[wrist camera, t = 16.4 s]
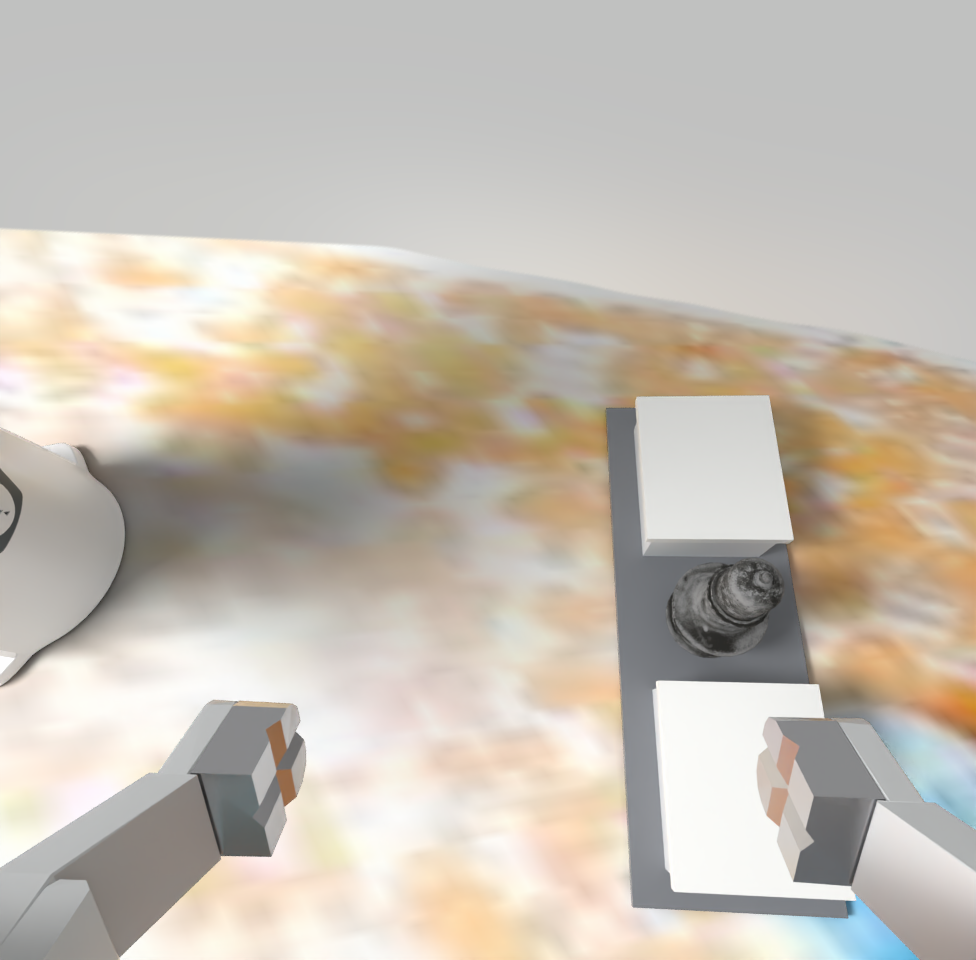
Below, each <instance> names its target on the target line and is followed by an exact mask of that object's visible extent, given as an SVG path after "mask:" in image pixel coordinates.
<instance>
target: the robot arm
mask: <svg viewBox="0 0 976 960" xmlns="http://www.w3.org/2000/svg"><path fill="white" fill-rule="evenodd" d="M124 543H125V526H124V519H123V515H122V512H121V509H120V506H119V504H118V502H117V501H116V499H115V497H114V496H113V494H112V493H111V492H110V491H109V490H108V489H107V488H106V487H105V486H104V485H103V484H101V483H100V482H99V481H98V480H96V479H95V478H94V477H93V476H92V475H91V474H90V473H89V471H88V468H87V466H86V463H85V460H84V458H83V456H82V454H81V452H80V451H79V450H78V449H77V448H75V447H73V446H71V445H69V444H66V443H58V444H52V445H47V446H39V445H37V444H35V443H33V442H31V441H29V440H27V439H25V438H22V437H20V436H18V435H16V434H14V433H12V432H10V431H8V430H5V429H3V428H1V427H0V686H1V685H2V684H4V683H5V682H7V681H8V680H9V679H10V678H11V677H12V676H13V675H14V674H15V673H16V672H17V671H18V670H19V669H20V668H21V667H22V666H23V665H24V664H25V663H26V662H27V660H28V659H29V658H30V657H31V656H32V655H33V654H34V653H36V652H37V651H38V650H40V649H41V648H43V647H45V646H46V645H48V644H50V643H52V642H53V641H55V640H57V639H58V638H60V637H62V636H63V635H65V634H66V633H68V632H69V631H70V630H72V629H73V628H74V627H76V626H77V625H78V624H79V623H80V622H81V621H82V620H84V619H85V618H86V617H87V616H88V615H89V614H90V613H91V611H92V610H93V609H94V608H95V607H96V606H97V605H98V603H99V602H100V601H101V599H102V598H103V596H104V595H105V593H106V592H107V590H108V589H109V587H110V585H111V583H112V581H113V580H114V578H115V575H116V573H117V571H118V568H119V565H120V562H121V559H122V555H123V550H124ZM299 723H300V716H299V712H298V708H297V706H296V705H294V704H290V703H271V702H253V701H223V700H212V701H211V702H209V703H207V704H206V705H205V706H204V707H203V709H202V710H201V711H200V713H199V714H198V716H197V717H196V719H195V720H194V722H193V723H192V724H191V726H190V727H189V729H188V730H187V732H186V733H185V734H184V736H183V737H182V739H181V740H180V742H179V743H178V744H177V746H176V747H175V749H174V750H173V752H172V753H171V754H170V756H169V757H168V759H167V760H166V762H165V763H164V764H163V766H162V767H161V769H160V770H159V772H158V773H148V774H147V775H145V776H143V777H142V778H140V779H139V780H137V781H136V782H134V783H133V784H131V785H129V786H128V787H126V788H125V789H123V790H122V791H120V792H118V793H117V794H115V795H114V796H112V797H111V798H109V799H107V800H106V801H104V802H103V803H101V804H100V805H98V806H96V807H95V808H93V809H92V810H90V811H89V812H87V813H85V814H84V815H82V816H81V817H79V818H78V819H76V820H75V821H73V822H71V823H70V824H68V825H67V826H65V827H64V828H62V829H60V830H59V831H57V832H56V833H54V834H53V835H51V836H49V837H48V838H46V839H45V840H43V841H42V842H40V843H38V844H37V845H35V846H34V847H32V848H31V849H29V850H27V851H26V852H24V853H23V854H21V855H20V856H18V857H17V858H15V859H13V860H12V861H10V862H9V863H7V864H6V865H4V866H2V867H1V868H0V960H120V958H119V957H120V956H122V955H123V954H124V953H125V952H126V951H127V950H128V949H129V948H130V947H131V946H132V945H133V944H134V943H135V942H136V941H137V940H138V939H139V938H140V937H141V936H142V935H143V934H144V933H145V932H146V931H147V930H148V929H149V928H150V927H151V926H152V925H154V924H155V923H156V922H157V921H158V920H159V919H160V918H161V917H162V916H163V915H164V914H165V913H166V912H167V911H168V910H169V909H170V908H171V907H172V906H173V905H174V904H175V903H176V902H177V901H178V900H179V899H180V898H181V897H182V896H183V895H184V894H186V893H187V892H188V891H189V890H190V889H191V888H192V887H193V886H194V885H195V884H196V883H197V882H198V881H199V880H200V879H201V878H202V877H203V876H204V875H205V874H206V873H207V872H208V871H209V870H210V869H211V868H212V867H213V866H214V865H215V864H216V863H218V862H219V861H220V860H221V856H258V857H271V856H272V854H273V851H274V849H275V847H276V844H277V842H278V840H279V837H280V835H281V833H282V830H283V828H284V825H285V823H286V821H287V819H286V814H285V809H284V807H285V806H286V805H287V804H288V803H290V802H291V801H292V800H293V799H294V798H296V797H297V794H298V792H299V789H300V787H301V784H302V782H303V777H304V772H305V766H306V748H305V742H304V739H303V738H302V737H301V736H300V735H299V734H298V733H296V732H295V731H296V729H297V727H298V725H299ZM762 735H763V737H764V740H765V742H766V744H767V746H768V747H767V748H766V749H765V750H764V751H763V752H761V753H760V754H759V756H758V763H757V770H756V772H757V786H758V791H759V795H760V799H761V803H762V805H763V808H764V811H765V813H766V816H767V817H768V818H770V819H771V820H772V821H773V822H774V823H775V824H776V825H778V826H779V827H780V828H779V833H778V837H777V843H778V846H779V848H780V851H781V853H782V856H783V858H784V861H785V863H786V866H787V868H788V870H789V873H790V875H791V878H792V880H793V882H801V883H814V884H827V885H840V886H852V887H851V890H852V891H853V892H854V893H855V894H856V895H857V896H858V897H859V898H860V899H861V900H862V901H863V902H864V903H865V904H866V905H867V906H868V907H869V908H870V909H871V910H872V912H873V913H874V914H875V915H876V916H877V917H878V918H879V919H880V920H881V921H882V922H883V923H884V924H885V925H886V926H887V927H888V928H889V929H890V930H891V931H892V932H893V933H894V934H895V935H896V936H897V937H898V938H899V939H900V940H901V941H902V942H903V943H904V944H905V945H906V946H907V947H908V948H909V949H910V950H911V951H912V952H913V953H914V954H915V955H916V956H917V957H918V958H919V959H920V960H976V830H975V829H973V828H972V827H970V826H969V825H967V824H966V823H964V822H963V821H961V820H960V819H958V818H957V817H955V816H954V815H952V814H951V813H949V812H948V811H946V810H945V809H943V808H942V807H940V806H939V805H937V804H936V803H929V802H924V800H923V799H922V798H921V796H920V795H919V793H918V792H917V790H916V789H915V787H914V786H913V785H912V783H911V782H910V780H909V779H908V777H907V776H906V775H905V773H904V772H903V770H902V769H901V767H900V766H899V764H898V763H897V762H896V760H895V759H894V757H893V756H892V754H891V753H890V752H889V750H888V749H887V747H886V746H885V744H884V743H883V741H882V740H881V739H880V737H879V736H878V734H877V733H876V731H875V730H874V729H873V727H872V726H871V724H870V723H869V722H867V721H866V720H865V719H863V718H830V719H828V718H796V717H768V719H767V720H766V722H765V725H764V729H763V734H762Z"/></svg>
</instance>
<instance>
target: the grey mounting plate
mask: <svg viewBox="0 0 976 960" xmlns="http://www.w3.org/2000/svg"><path fill="white" fill-rule="evenodd" d="M635 407H636V408H606V426H607V445H608V464H609V483H610V502H611V521H612V540H613V559H614V578H615V597H616V616H617V635H618V654H619V673H620V692H621V711H622V730H623V749H624V768H625V787H626V806H627V825H628V844H629V863H630V882H631V901H632V906H633V907H636V908H655V909H675V910H694V911H714V912H733V913H753V914H772V915H792V916H812V917H831V918H848V913H847V907H846V901H845V900H848V901H856V898H855V893H854V892H853V891H852V890H851V887H852V886H840V885H827V884H814V883H801V882H793V880H792V878H791V875H790V873H789V870H788V868H787V866H786V863H785V861H784V858H783V856H782V853H781V851H780V848H779V846H778V843H777V837H778V833H779V828H780V827H779V826H778V825H776V824H775V823H774V822H773V821H772V820H771V819H770V818H768V817H767V816H766V813H765V811H764V808H763V805H762V803H761V799H760V795H759V791H758V786H757V772H756V770H757V763H758V756H759V754H760V753H761V752H763V751H764V750H765V749H766V748H767V747H768V746H767V744H766V742H765V740H764V737H763V735H762V734H763V729H764V725H765V722H766V720H767V719H768V717H796V718H824V712H823V706H822V701H821V695H820V689H819V684H809V679H808V673H807V667H806V661H805V655H804V649H803V643H802V637H801V631H800V625H799V619H798V613H797V607H796V601H795V595H794V589H793V583H792V577H791V571H790V565H789V559H788V553H787V547H786V543H788V544H789V543H790V542H792V541H793V540H794V538H793V532H792V526H791V520H790V515H789V509H788V503H787V497H786V491H785V486H784V480H783V474H782V468H781V462H780V457H779V451H778V445H777V439H776V433H775V428H774V422H773V416H772V410H771V404H770V398H769V395H760V396H656V397H637V398H636V401H635ZM746 558H760V559H764V560H766V561H768V562H770V563H771V564H772V565H774V566H775V567H776V568H777V569H778V571H779V572H780V573H781V575H782V578H783V580H784V585H785V590H784V595H783V597H782V600H781V602H780V603H779V604H778V605H777V606H776V607H775V608H773V609H771V611H770V613H769V620H768V627H767V630H766V632H765V634H764V636H763V638H762V640H761V641H760V642H759V643H758V644H757V645H756V646H755V647H754V648H753V649H751V650H749V651H748V652H746V653H744V654H741V655H736V656H732V657H723V656H721V657H717V658H703V657H699V656H696V655H693V654H691V653H689V652H688V651H686V650H684V649H683V648H682V647H681V646H680V645H679V644H678V643H677V642H676V641H675V640H674V638H673V637H672V635H671V633H670V632H669V629H668V626H667V623H666V612H665V611H666V607H667V602H668V600H669V598H670V596H671V594H672V593H673V592H674V588H675V587H676V585H677V583H678V581H679V579H680V578H681V577H682V576H683V575H684V574H685V573H686V572H687V571H688V570H690V569H692V568H694V567H695V566H697V565H701V564H705V563H709V562H712V563H724V564H728V565H730V564H736V563H737V562H739V561H740V560H742V559H746Z"/></svg>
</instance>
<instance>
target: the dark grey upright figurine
mask: <svg viewBox="0 0 976 960" xmlns="http://www.w3.org/2000/svg"><path fill="white" fill-rule="evenodd" d="M784 590H785V585H784V580H783V578H782V575H781V573H780V572H779V571H778V569H777V568H776V567H775V566H774V565H772V564H771V563H770V562H768V561H766V560H764V559H760V558H746V559H742V560H740V561H739V562H737V563H736V564H730V565H728V564H724V563H712V562H709V563H705V564H701V565H697V566H695V567H694V568H692V569H690V570H688V571H687V572H686V573H685V574H684V575H683V576H682V577H681V578H680V579H679V581H678V583H677V585H676V587H675V588H674V592H673V593H672V594H671V596H670V598H669V600H668V602H667V607H666V611H665V612H666V623H667V626H668V629H669V632H670V633H671V635H672V637H673V638H674V640H675V641H676V642H677V643H678V644H679V645H680V646H681V647H682V648H683V649H684V650H686V651H688V652H689V653H691V654H693V655H696V656H699V657H703V658H717V657H721V656H723V657H732V656H736V655H741V654H744V653H746V652H748V651H749V650H751V649H753V648H754V647H755V646H756V645H757V644H758V643H759V642H760V641H761V640H762V638H763V636H764V634H765V632H766V630H767V627H768V620H769V613H770V611H771V609H773V608H775V607H776V606H777V605H778V604H779V603H780V602H781V600H782V597H783V595H784Z"/></svg>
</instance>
